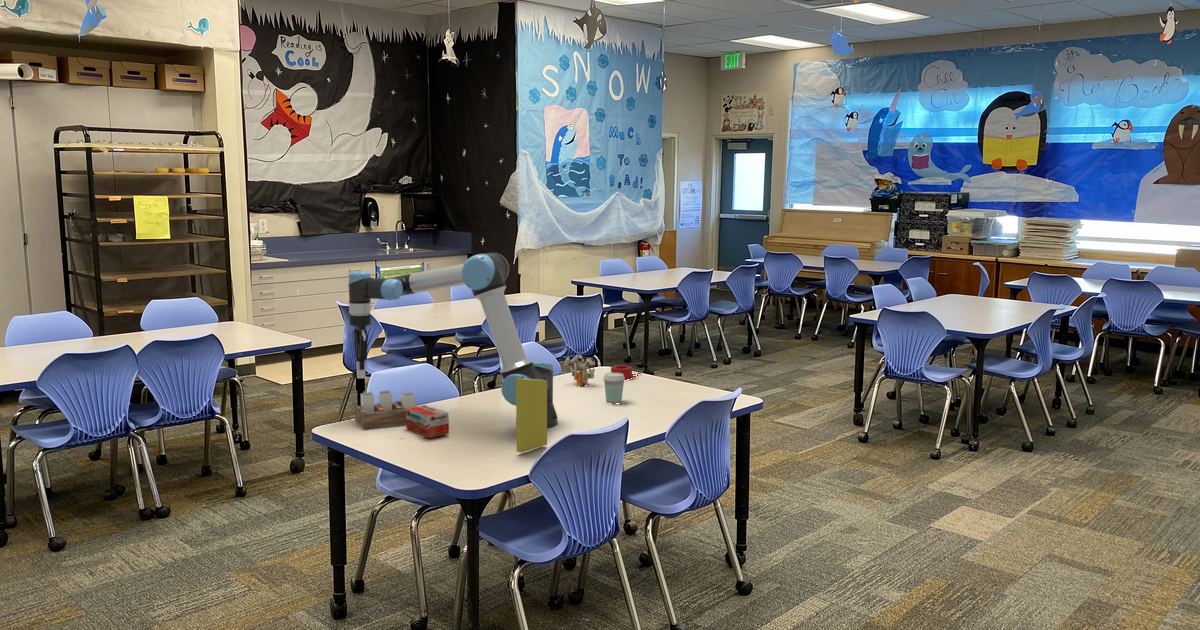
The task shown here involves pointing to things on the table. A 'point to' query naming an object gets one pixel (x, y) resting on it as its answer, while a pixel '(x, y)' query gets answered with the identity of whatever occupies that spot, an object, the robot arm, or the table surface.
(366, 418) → the wooden slotted rack
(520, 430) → the flat olive board
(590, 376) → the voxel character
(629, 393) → the table surface
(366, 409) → the tab
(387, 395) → the tab
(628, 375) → the red barrier tape roll
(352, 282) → the robot arm
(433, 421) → the medicine box
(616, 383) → the coffee cup
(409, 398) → the tab
